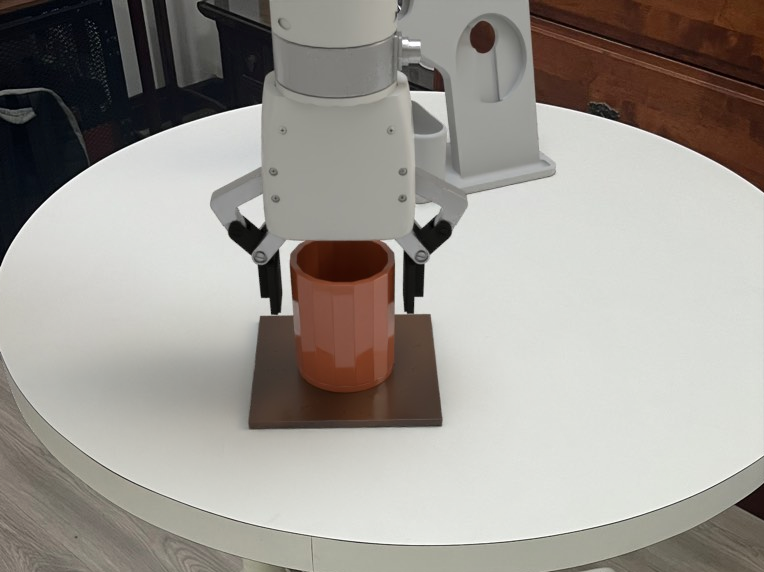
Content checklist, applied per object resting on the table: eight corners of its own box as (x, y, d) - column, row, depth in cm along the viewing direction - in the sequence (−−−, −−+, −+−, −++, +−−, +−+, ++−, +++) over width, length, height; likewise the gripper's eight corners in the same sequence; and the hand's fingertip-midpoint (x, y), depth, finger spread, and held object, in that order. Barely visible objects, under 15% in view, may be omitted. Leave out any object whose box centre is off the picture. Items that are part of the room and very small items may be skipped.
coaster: (248, 428, 72) (247, 422, 71) (260, 321, 81) (259, 315, 81) (442, 426, 72) (442, 419, 72) (430, 319, 82) (430, 313, 82)
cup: (295, 393, 74) (287, 286, 67) (299, 337, 79) (291, 232, 72) (395, 392, 74) (396, 285, 68) (392, 336, 79) (393, 232, 73)
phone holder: (408, 206, 96) (411, 3, 83) (364, 164, 102) (362, -30, 90) (560, 173, 102) (585, -21, 89) (510, 135, 108) (527, -51, 95)
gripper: (471, 38, 64) (456, 277, 76) (199, 37, 63) (228, 278, 75) (482, 83, 58) (464, 332, 70) (185, 82, 58) (219, 334, 70)
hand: (342, 304), depth 73 cm, fingers open, 9 cm apart
